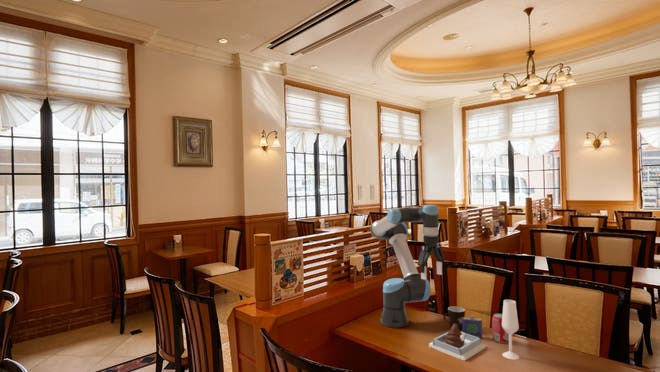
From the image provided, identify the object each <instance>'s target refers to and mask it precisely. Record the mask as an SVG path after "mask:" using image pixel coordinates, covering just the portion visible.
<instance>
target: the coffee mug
mask: <svg viewBox="0 0 660 372" xmlns="http://www.w3.org/2000/svg"><path fill="white" fill-rule="evenodd" d="M447 315H448V319H449V320H447V319H446V316H447ZM465 317H466V309H465V308H464V307H461V306H449V307H448V308H447V312H445V313H444V315H443V320H444V321H445V322H447V323H448V324H449V326H450V329H451V327H452V326H453V324H454V323H455V324H457V326H458V328H459V330H460V331H463V324H462V318H465Z"/></svg>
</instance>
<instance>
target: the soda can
mask: <svg viewBox="0 0 660 372" xmlns="http://www.w3.org/2000/svg"><path fill="white" fill-rule="evenodd" d="M502 314H503V313H494V314H493V315H492V319H491V330H492V339H493V340H494V341H495V342H497V343H501V344H502V343H503V344H504V343H507V342H509V334H508V333H507V332H506V331H505V330H504V329H503V327H502Z"/></svg>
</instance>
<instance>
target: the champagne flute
mask: <svg viewBox="0 0 660 372" xmlns="http://www.w3.org/2000/svg"><path fill="white" fill-rule="evenodd" d="M502 304H503V305H502V313H501V314H502V327H503V329H504V330H505V331H506V332H507V333H508V351H505V352H502V354H501V355H502V356H503V357H504V358H506V359H509V360H519V359H520V356H519V355H518V354H517V353H515V352H513V334H515V333H517V332H518V330H519V329H520V326H519V319H518V310H517V302H516V300H513V299H504V300H503V303H502Z"/></svg>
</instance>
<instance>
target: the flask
mask: <svg viewBox="0 0 660 372" xmlns="http://www.w3.org/2000/svg"><path fill="white" fill-rule="evenodd" d="M462 324H463V330H462V332H464V333H467V334H470V335H473V336H476V337H479V338H481V339H483V337H484V336H483V320H482V319H481V318H475V316H474V314H472V315H470V317H467V316H465V317H464V318H462Z"/></svg>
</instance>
